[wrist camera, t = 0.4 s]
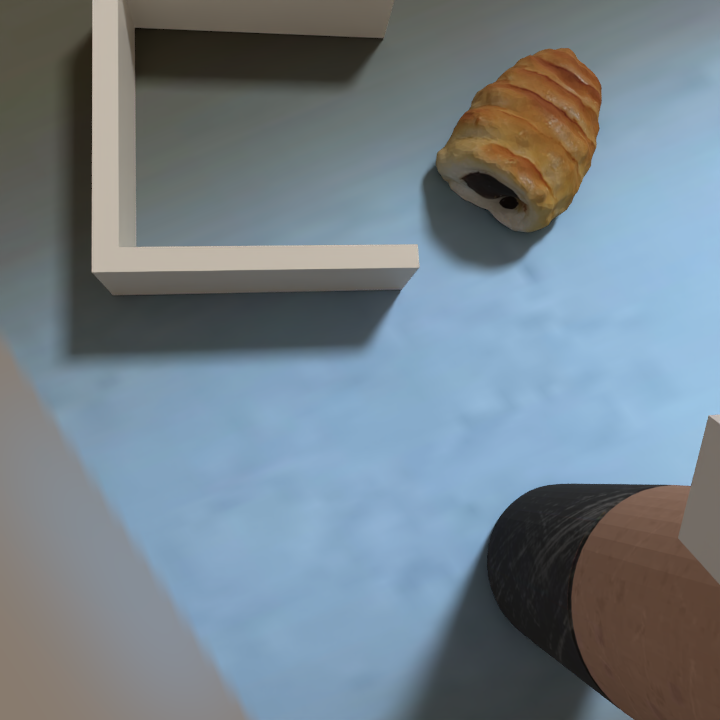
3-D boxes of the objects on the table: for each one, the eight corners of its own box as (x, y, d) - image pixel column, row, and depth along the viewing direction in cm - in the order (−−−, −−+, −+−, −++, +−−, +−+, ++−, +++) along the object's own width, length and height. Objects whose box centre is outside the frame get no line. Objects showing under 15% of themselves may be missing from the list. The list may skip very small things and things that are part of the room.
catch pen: (401, 289, 30) (419, 267, 26) (113, 295, 28) (91, 272, 24) (382, 20, 32) (396, -33, 28) (112, 7, 30) (92, -52, 26)
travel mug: (523, 682, 28) (1131, 1207, 8) (452, 520, 28) (860, 650, 9) (664, 604, 29) (1462, 893, 10) (594, 451, 30) (1209, 435, 10)
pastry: (510, 41, 33) (542, -11, 29) (616, 114, 33) (660, 70, 30) (421, 179, 31) (443, 141, 27) (534, 254, 31) (571, 227, 28)
